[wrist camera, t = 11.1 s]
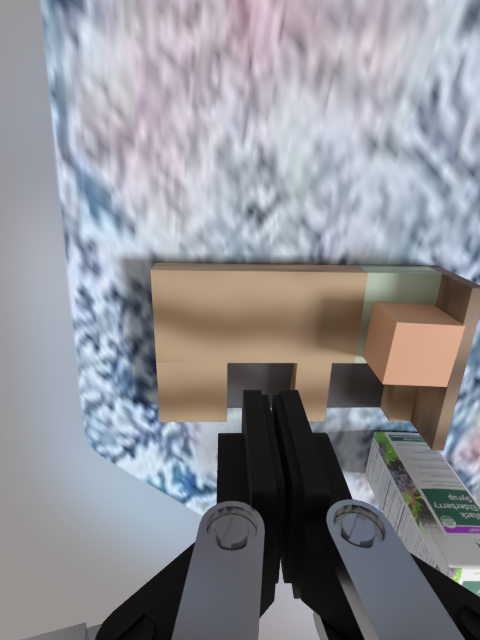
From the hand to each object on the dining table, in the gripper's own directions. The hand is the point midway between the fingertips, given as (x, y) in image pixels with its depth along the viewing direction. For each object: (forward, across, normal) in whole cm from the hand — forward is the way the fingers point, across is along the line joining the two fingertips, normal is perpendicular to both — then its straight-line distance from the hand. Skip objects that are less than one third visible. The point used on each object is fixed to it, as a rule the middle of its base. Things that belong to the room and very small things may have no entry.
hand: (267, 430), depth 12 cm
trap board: (+22, -5, +8) cm, 24 cm away
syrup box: (+22, -17, +20) cm, 34 cm away
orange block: (+20, -13, +5) cm, 24 cm away
